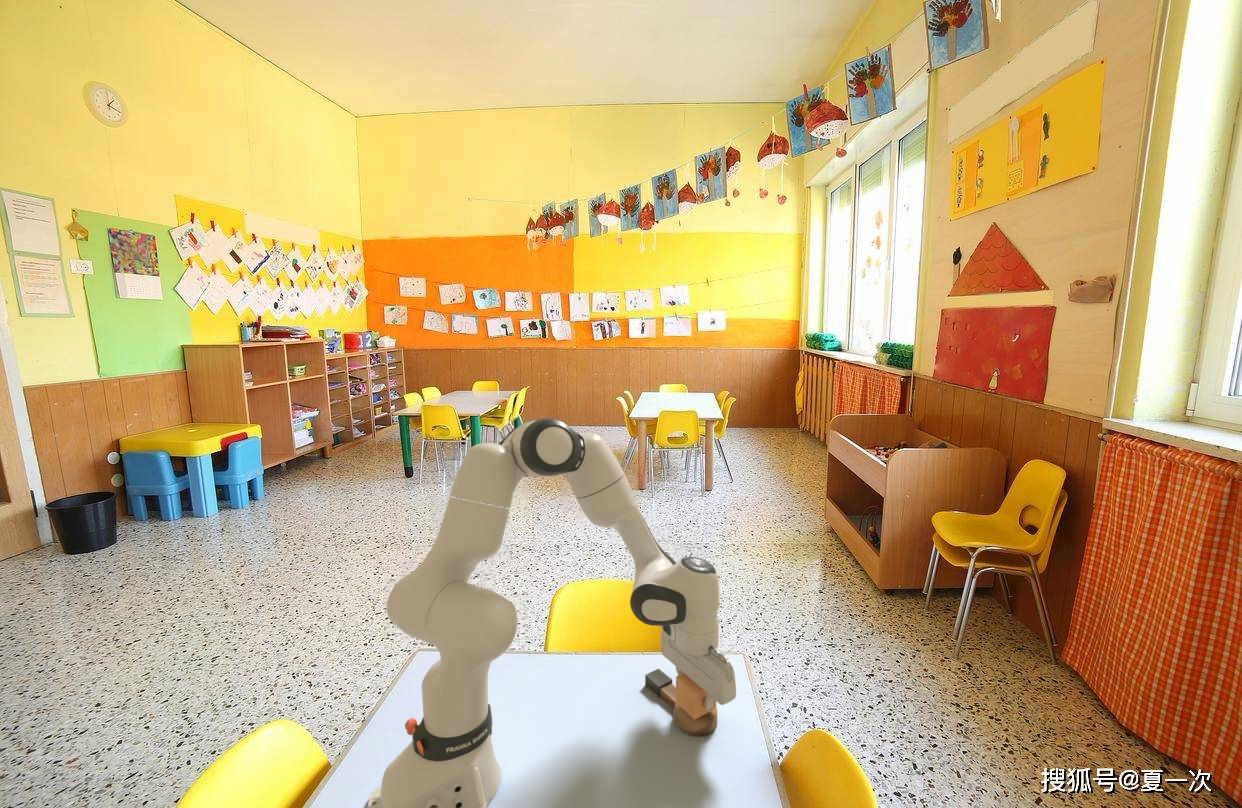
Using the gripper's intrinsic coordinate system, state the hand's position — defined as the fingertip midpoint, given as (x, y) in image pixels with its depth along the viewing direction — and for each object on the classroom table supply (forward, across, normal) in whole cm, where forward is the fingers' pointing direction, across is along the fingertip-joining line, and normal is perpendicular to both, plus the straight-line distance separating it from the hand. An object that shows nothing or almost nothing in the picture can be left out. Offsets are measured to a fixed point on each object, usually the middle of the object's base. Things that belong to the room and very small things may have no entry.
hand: (695, 696), depth 110 cm
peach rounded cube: (+2, 0, 0) cm, 2 cm away
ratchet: (+6, +5, 0) cm, 8 cm away
